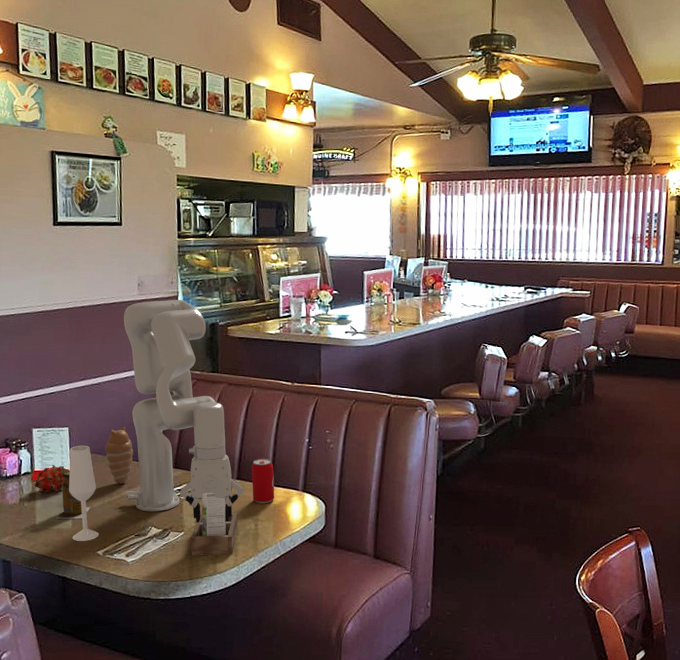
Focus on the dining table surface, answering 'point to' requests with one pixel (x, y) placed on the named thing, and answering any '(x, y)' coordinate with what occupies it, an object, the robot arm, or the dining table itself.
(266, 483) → the beverage can
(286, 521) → the dining table surface
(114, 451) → the cat ice cream
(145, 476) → the robot arm
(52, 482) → the dragon fruit
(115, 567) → the dining table surface
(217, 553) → the caddy
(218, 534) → the syrup box
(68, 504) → the condiment
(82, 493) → the champagne flute
